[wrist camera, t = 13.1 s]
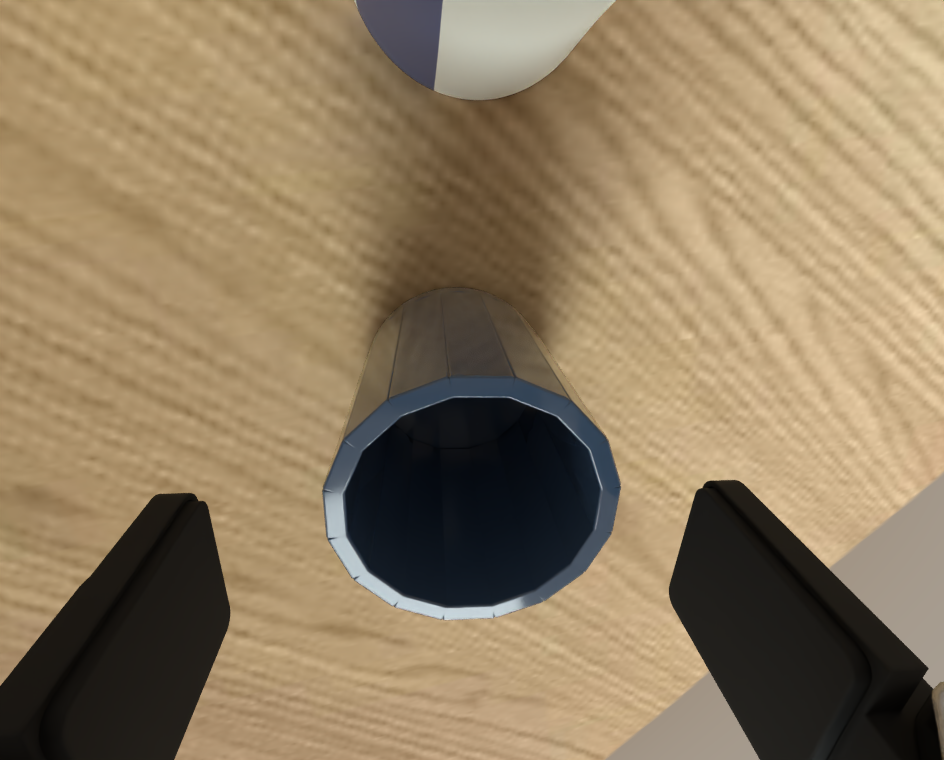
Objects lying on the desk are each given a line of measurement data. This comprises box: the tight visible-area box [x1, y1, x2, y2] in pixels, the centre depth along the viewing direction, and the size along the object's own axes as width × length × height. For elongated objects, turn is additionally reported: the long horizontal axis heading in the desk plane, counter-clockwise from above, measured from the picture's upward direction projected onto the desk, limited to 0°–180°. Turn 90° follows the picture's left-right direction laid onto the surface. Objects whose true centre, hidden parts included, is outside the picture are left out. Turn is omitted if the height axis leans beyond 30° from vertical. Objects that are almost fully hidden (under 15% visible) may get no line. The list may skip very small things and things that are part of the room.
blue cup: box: [322, 287, 621, 620], centre depth 15 cm, size 7×7×8 cm
